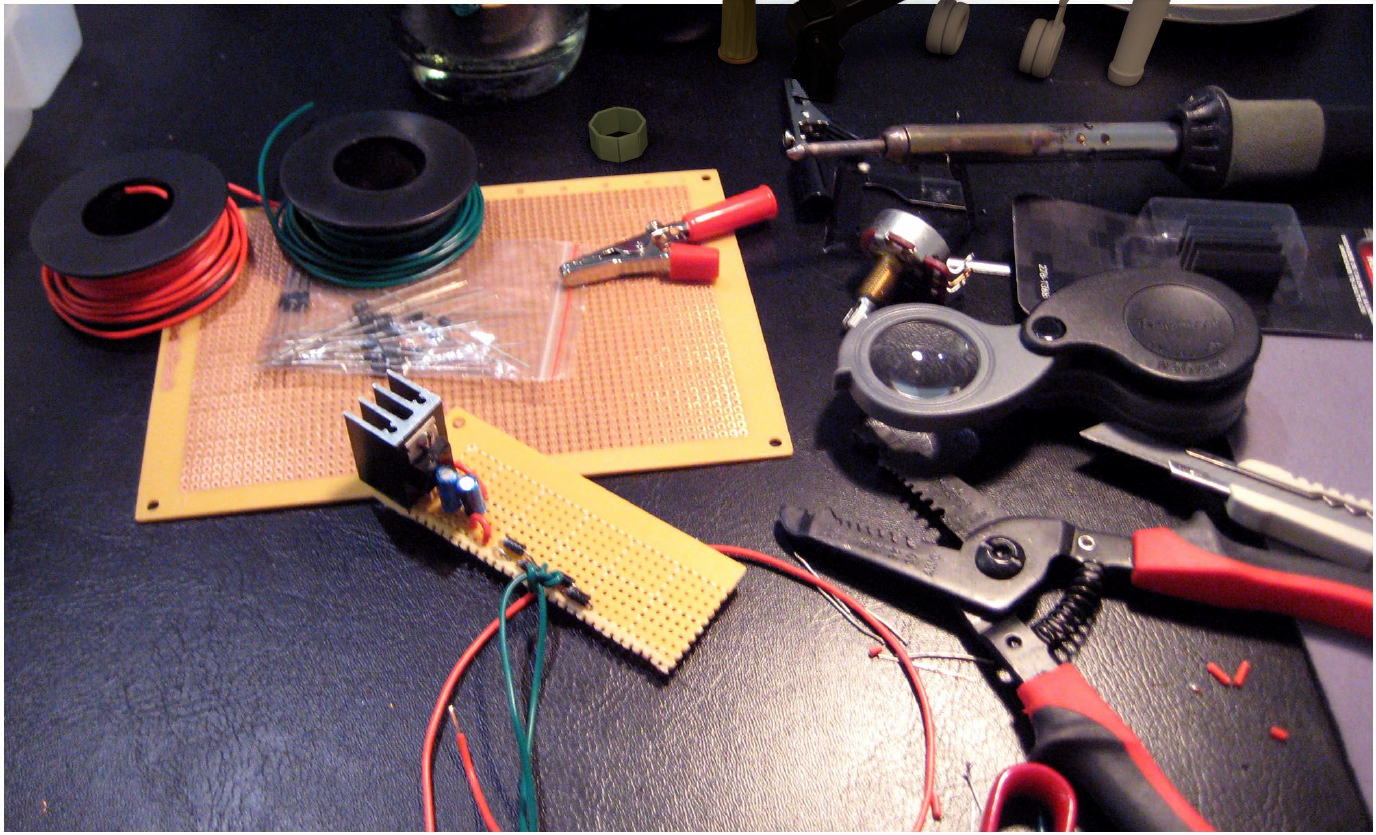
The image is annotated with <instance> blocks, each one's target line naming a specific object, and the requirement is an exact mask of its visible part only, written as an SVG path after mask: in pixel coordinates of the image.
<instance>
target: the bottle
mask: <svg viewBox="0 0 1376 835" xmlns="http://www.w3.org/2000/svg"><path fill="white" fill-rule="evenodd" d="M1171 1H1172V0H1132V2H1131V5H1130V8H1129V11H1128V14H1127V17H1126V20H1125V22H1124V27H1123V30H1122V32H1121V36H1120V37H1119V38H1120V39H1119V42H1118V45H1117V47H1116V51H1115V54H1114V57H1113V60H1112V61H1111V62H1110V63H1109V66H1108V70H1107V78H1108V80H1109V81H1110V82H1111V83H1113V84H1115V85H1118V86H1123V87H1131V86H1134V85H1136V84H1137V83H1139V81H1141V78H1142V77H1143V75H1144V72H1145V65H1146V62H1147V60H1148V57H1149V55H1150V52H1151V50H1152V48H1153V45H1154V42H1155V41H1156V38H1157V35H1158V34H1159V33H1158V32H1159V30H1160V28H1161V26H1162V22H1163V21H1164V18H1165V15H1166V13H1167V11H1168V9H1169V6H1170V3H1171Z"/></svg>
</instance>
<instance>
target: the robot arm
mask: <svg viewBox="0 0 1376 835" xmlns="http://www.w3.org/2000/svg"><path fill="white" fill-rule="evenodd" d="M905 1H906V0H797V1H795V2H793V3H792V4H790V6H789V7H787V11H786V14H785V16H784V19H783V24H784V25H783V26H784V29H785V31H786V33H787V34H788V36H789V38H790V40H791V41H792V42H793V43H792V44H794V46H795V48H796V49H797V53H796V55H795V57H794V59H793V61H792V63H791V74H790V76H791V78H792V79H796V80H797V81H798V82H799V83H800V85H801V87H803V88H804V90H805V91H806V92H807V93H806V94H808V96H809V98H810V100H811V101H816V102H822V103H831V102H832V100H833V98H834V96H835V94H836V91H837V89H838V87H839V85H840V79H839V78H838V75H839V67H840V66H842V64H843V62H844V60H845V58H846V56H847V50H845V48H844V46H843V45H842V43H841V41H842V39H843V38H844V36H845V35H846V34H847V33H848V32H849V30H850V29H851V28H852V27H853V26H855V25H857V24H860V23H861V22H863V21H866V20H867V19H869V18H871V17H873V16H875V15H877V14H880V13H882V12H884V11H886V10H888V9H890V8H892V7H894V6H896V5H899V4H901V3H903V2H905ZM791 78H790V79H791ZM810 100H809V101H810Z"/></svg>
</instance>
